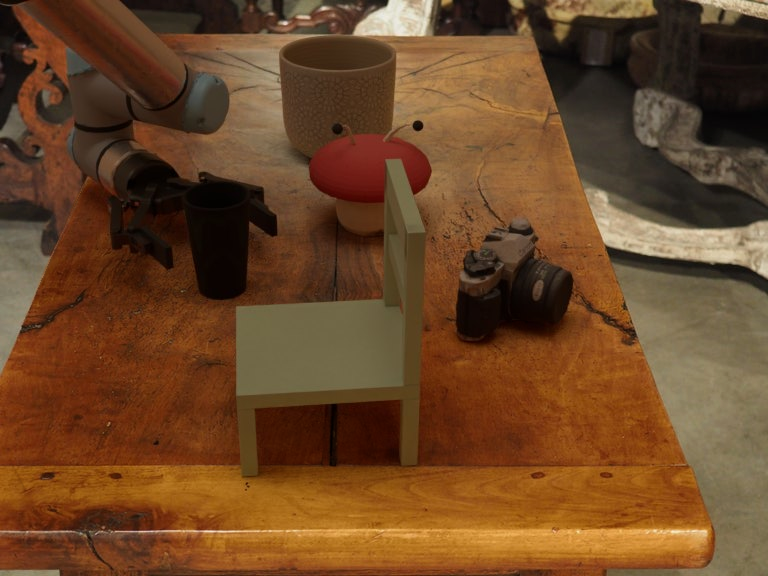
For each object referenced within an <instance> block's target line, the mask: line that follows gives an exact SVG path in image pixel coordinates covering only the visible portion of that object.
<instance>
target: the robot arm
mask: <svg viewBox="0 0 768 576" xmlns="http://www.w3.org/2000/svg"><path fill="white" fill-rule="evenodd" d="M0 5H2V6H7V7H18V8H19V9H21V11H23V12H24V13H25V14H26V15H28V16H29V17H30V18H31V19H33V20H34V21H35V22H36V23H38V24H39V25H41V27H42V28H44V29H45V30H46V31H48V32H49V33H50V34H51V35H52V36H54V37H55V38H56V39H57V40H59V41H60V42H61V43H62V44H64V45H65V46H66V47H65V61H66V78H67V83H68V89H69V96H70V103H71V108H72V116H73V122H74V123H73V126H72V128H71V129H70V130H69V134H68V137H67V139H66V140H67V141H66V150H67V153H68V156H69V158H70V160H71V161H72V162H73V163H74V165H76V166H77V169H79V170H80V171H81V173H83V174H84V176H87V177H89V178H90V179H92V180H93V181H94V182H95V183H96V184H98V185H100V186H101V187H102V188H103V189H105V190H106V191H107V192H108V193H110V195H107V196H106V200H107V201H106V202H107V210H108V217H109V218H110V219H109V236H110V244H111V249H112V250H114V251H120V250H123V247H124V246H128V250H129V253H130V254H132V255H137V254H142V255H143V256H148V255H149V256H151V258H152V259H154V260H155V261H156V262H157V263H159V264H160V265H161V266H162V267H164V268H165V269H166V270H168V271H169V270H172V269H175V266H174V265H175V264H174V257H173V256H174V255H173V246H171V244H169V243H168V242H167V241H166V240H164V239H163V238H162V237H161V236H159V235H158V234H157V233H156V232H154V231H153V230H152V229H151V228H150V227H151V225H154V224H155V222H156V221H157V219H158V218H159V217H160V216H167V215H170V214H173V213H174V212H180V211H184V209H183V204H182V194H183V193H184V192H185V191H186V190H187V189H188V188H190V187H192V186H194V185H197V184H200V183H205V182H211V181H228V182H234V183H238V184H241V185H243V186H245V187H246V188H247V189H248V190H249V191H250V193H251V199H250V220H249V223H251V224H252V225H254V226H255V227H256V228H258V229H260V230H261V231H263V232H264V233H265V234H267V235H268V236H270V237H271V238H275V237H278V215H277V214H276V213H274V212H273V211H271V210H270V207H269V206H268V205H267V204H266V203H265V189H264V187H263V186H260V185H255V184H251V183H246V182H242V181H238V180H233V179H229V178H226V177H221V176H218V175H217V176H216V175H213V174H212V173H210V172H208V171H200V172H198V178H196V179H194V180H190V179H188V178H184V177H181V176H180V175H179V173H178V172H177V170H176V169H175V168H174V167H173V165H172V164H170V163H169V162H167V161H166V160H164V159H163V158H162V157H161V156H159V155H158V154H156V153H155V152H153V151H152V150H150V149H149V148H148V147H146V146H145V145H143V144H142V143H140V142H139V141H137V140H136V139H135V130H134V121H136V122H140V123H143V124H144V123H145V124H149V125H152V126H158V127H163V128H166V129H172V130H174V131H178V132H179V131H180V132H184V133H185V134H191V133H192V134H197V135H203V136H208V135H212V134H215V133H216V132H218V131H219V130H220V128H222V126H223V125H224V123H225V122H226V117H227V116H228V115H227V114H228V113H229V109H230V101H231V100H230V92H229V87H228V86H227V83H226V82H225V81H224V80H223V78H221V77H220V76H218V75H215V74H211V73H209V72H207V71H196V70H194V69H193V68H192V67H190V66H189V65H188V64H187V63H186V62H184V61H183V60H182V59H181V58H180V57H179V56H178V55H177V54H176V53H175V52H174V51H173V50H172V49H171V48H170V47H169V46H167V44H166V43H164V42H163V41H162V40H161V39H160V38H159V37H158V36H157V35H156V34H155V33H154V32H153V31H152V30H151V29H150V28H149V27H148V26H147V25H146V24H144V22H143V21H142V20H141V19H139V18H138V16H136V15H135V14H134V12H132V11H131V10H130V9H129V8H128V7H127V6H126V5H125V4H124V3H123V2H122V1H120V0H0ZM128 210H131V211H132V212H133V215H132V217H131V219H130V221H129V223H128V224H127V225H126V228H125V221H124V220H125V219H124V218H126V217H127V215H126V213H128ZM124 228H125V229H124Z"/></svg>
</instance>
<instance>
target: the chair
mask: <svg viewBox="0 0 768 576" xmlns="http://www.w3.org/2000/svg"><path fill="white" fill-rule="evenodd" d="M426 242H427V230H426V228H425V226H424V222H423V219H422V215H421V213H420V211H419V207H418V205H417V202H416V199H415V195H413V193H412V190H411V187H410V184H409V181H408V178H407V175H406V172H405V169H404V166H403V163H402V160H401V159H385V205H384V235H383V272H382V275H383V276H382V277H383V278H382V279H383V280H382V282H383V283H382V298H378V299H358V300H338V301H320V302H319V301H316V302H299V303H297V302H296V303H279V304H278V303H277V304H258V305H256V304H255V305H238V306H237V305H236V306H235V394H236V395H235V397H236V398H235V399H236V412H237V413H236V414H237V427H238V428H237V429H238V444H239V457H240V458H239V459H240V470H241V471H240V472H241V473H240V475H241V477H242V478H243V477H244V478H245V477H258V476H259V460H258V459H259V458H258V441H257V440H258V439H257V421H256V409H267V408H282V407H299V406H315V405H316V406H317V405H331V404H332V405H333V404H334V405H335V404H350V403H365V402H366V403H367V402H368V403H369V402H384V401H397V400H398V401H400V405H399V406H400V409H399V410H400V412H399V442H398V443H399V445H398V447H399V449H398V454H399V455H398V457H399V462H400V466H401V467H407V466H409V467H410V466H417V465H418V457H419V430H420V429H419V428H420V403H421V401H420V399H421V378H422V377H421V376H422V375H421V374H422V350H423V349H422V348H423V347H422V346H423V345H422V344H423V324H424V323H423V321H424V299H425V298H424V296H425V295H424V293H425V269H426V266H425V265H426V244H427V243H426ZM401 305H402V310H401Z"/></svg>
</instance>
